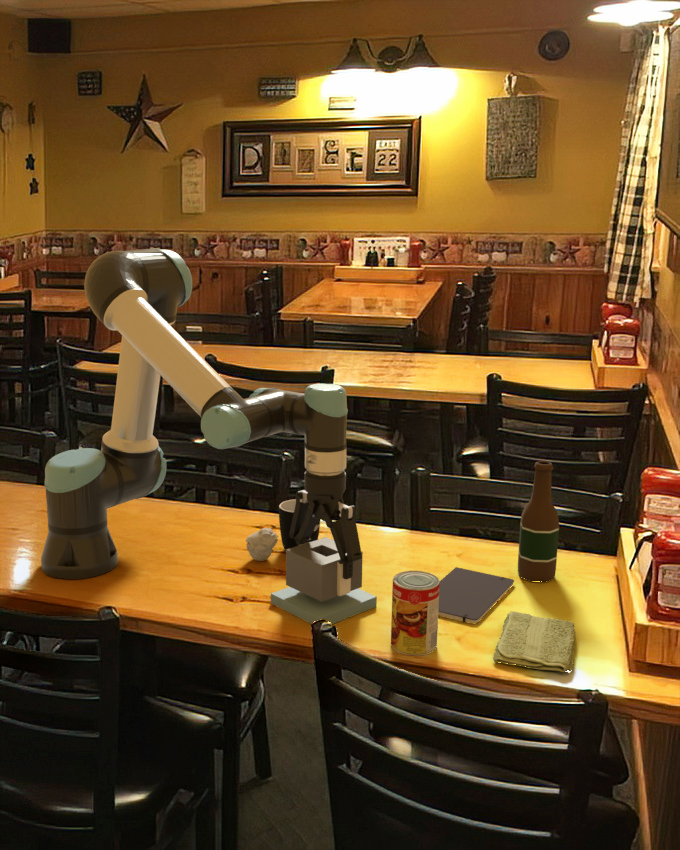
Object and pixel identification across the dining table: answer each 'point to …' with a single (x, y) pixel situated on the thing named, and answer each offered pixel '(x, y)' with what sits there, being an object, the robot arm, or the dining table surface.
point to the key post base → (323, 604)
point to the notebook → (470, 594)
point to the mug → (285, 524)
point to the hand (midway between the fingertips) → (324, 584)
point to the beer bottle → (539, 529)
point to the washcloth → (536, 642)
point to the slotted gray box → (318, 569)
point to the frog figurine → (261, 544)
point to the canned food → (414, 612)
